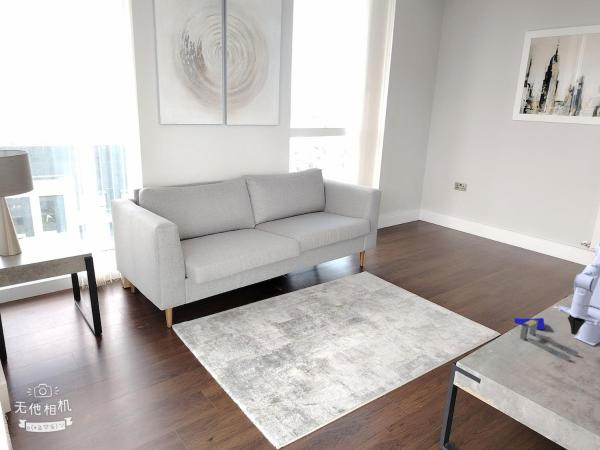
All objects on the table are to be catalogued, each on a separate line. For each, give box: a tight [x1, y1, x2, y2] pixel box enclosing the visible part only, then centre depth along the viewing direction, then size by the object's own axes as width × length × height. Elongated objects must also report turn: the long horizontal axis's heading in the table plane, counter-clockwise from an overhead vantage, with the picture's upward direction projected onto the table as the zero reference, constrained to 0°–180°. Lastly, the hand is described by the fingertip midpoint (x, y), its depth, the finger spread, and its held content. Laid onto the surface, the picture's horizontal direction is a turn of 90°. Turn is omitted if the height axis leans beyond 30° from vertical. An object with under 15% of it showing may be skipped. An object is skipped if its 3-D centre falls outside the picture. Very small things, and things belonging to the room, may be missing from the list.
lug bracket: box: [519, 318, 538, 341], centre depth 186 cm, size 9×2×8 cm, turn 124°
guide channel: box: [527, 333, 579, 362], centre depth 178 cm, size 8×17×2 cm, turn 34°
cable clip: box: [513, 317, 546, 330], centre depth 197 cm, size 12×4×6 cm
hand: (574, 333), depth 172 cm, fingers closed
